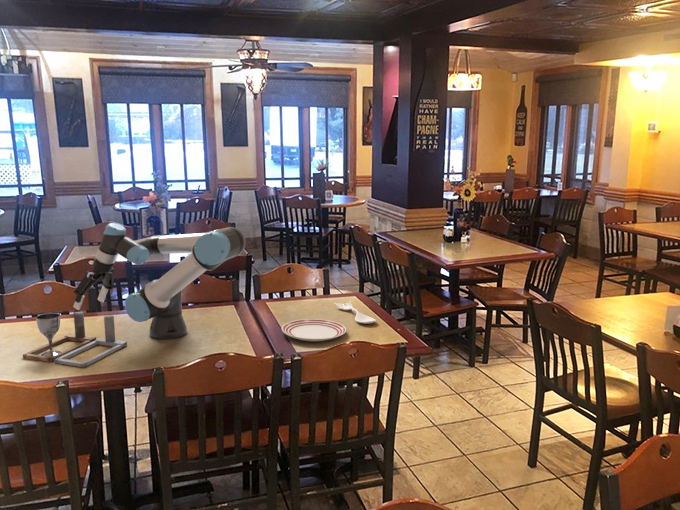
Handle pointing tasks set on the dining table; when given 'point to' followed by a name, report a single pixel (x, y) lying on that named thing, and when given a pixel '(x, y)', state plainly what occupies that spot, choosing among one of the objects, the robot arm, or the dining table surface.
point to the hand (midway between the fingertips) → (88, 304)
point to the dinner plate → (313, 329)
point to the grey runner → (108, 341)
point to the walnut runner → (77, 336)
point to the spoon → (359, 317)
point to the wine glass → (49, 329)
